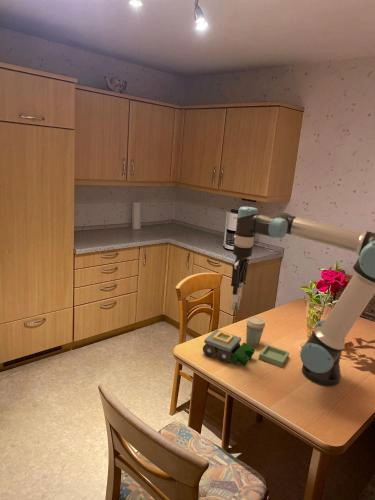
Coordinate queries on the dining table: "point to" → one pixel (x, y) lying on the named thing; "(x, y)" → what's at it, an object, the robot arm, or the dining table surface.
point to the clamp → (243, 354)
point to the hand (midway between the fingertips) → (236, 299)
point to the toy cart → (221, 345)
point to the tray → (274, 355)
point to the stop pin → (236, 304)
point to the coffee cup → (254, 331)
